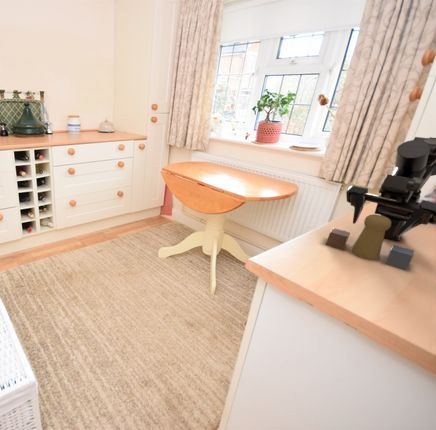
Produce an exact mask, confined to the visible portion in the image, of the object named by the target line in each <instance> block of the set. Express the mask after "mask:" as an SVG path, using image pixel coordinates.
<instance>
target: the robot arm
mask: <svg viewBox="0 0 436 430" xmlns="http://www.w3.org/2000/svg"><path fill="white" fill-rule="evenodd" d="M394 167H395V168H394V170H393V172H392V174H385V177H384V178H383V181H382V183H381V184H380V188H379V190H378V193H379V195H377V194H372V193H369V187H363V186H359V185H354V184H353V185H351V186H349V187H348V188H347V190H346V192H345V193H346V196H345V197H346V203H349V205H350V206H351V207H354V211H353V218H352V224H353V225H354V224H356V223H357V222H358V220H359V218H360V215H361V213H362V211H363V209H364V206H365V203H366V202H369V203H370V202H371V203H374V204H376V207H375V210H374V213H373V215H381V216H384V217H387V218H389V219H390V220H391V226H390V228H389V229H388V230H386V231H385V234H384V238H385V239H388V240H393V241H396V242H400V240H401V237H402V236H403V235H404V234H406V233H407V232H409V231H410V230H413V229H414V228H416V227H418V226H420V225H423V226H424V225H425V226H427V225H428V224H433V225H435V224H436V202H434V201H430V200H424V199H422V200H421V202H420V199H421V194H422V189H423V187H424V186H425V184H426V183H427V182H428V181H429V179H430V178H431V177H433V176H436V137H432V136H431V137H430V136H429V137H421V136H420V137H419V136H415V137H414V139H412V140H407V141H404V142H402V143H401V144H399V145H398V146H397V148H396V154H395V161H394Z"/></svg>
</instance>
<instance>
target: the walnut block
mask: <svg viewBox="0 0 436 430" xmlns="http://www.w3.org/2000/svg"><path fill="white" fill-rule="evenodd" d="M350 235H351V232H350V231H346V230H342V229H338V228H335V227H333V228H332V229H331V231H330V232H329V234H328V237H327V239H326V243H325V245H327V246H328V247H329V246H330V247H331V248H336V249H338V250H344V248H345V247H346V246H347V243H348V240H349V238H350Z"/></svg>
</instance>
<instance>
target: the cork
mask: <svg viewBox="0 0 436 430" xmlns="http://www.w3.org/2000/svg"><path fill="white" fill-rule="evenodd" d="M390 226H391V220H390V219H389V218H387V217H384V216H381V215H379V214H369V215H367V216H366V217H365V218H364V227H363V228H362V230H361V232H360V233H359V235H358V237H357V238H356V240H355V242H354V243H353V245H352V247H351V248H350V252H351V253H352V254H354V255H355V256H357V257H360V258H362V259H366V260H371V261H373V260H375V261H377V260H378V259H380V254H381V251H382V246H383V242H384V234H385V231H386V230H388V229H389V228H390Z"/></svg>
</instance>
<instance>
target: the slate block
mask: <svg viewBox="0 0 436 430" xmlns="http://www.w3.org/2000/svg"><path fill="white" fill-rule="evenodd" d="M414 254H415V250H413V249H410V248H406V247H403V246H399V245H396V244H392V246H391V248H390V250H389V252H388V255H387V257H386V260H385V261H384V263H385V264H386V265H389V266H392V267H395V268H399V269H402V270H405V271H406V270H407V269H408V268H409V265H410V263H411V261H412V259H413V258H414Z"/></svg>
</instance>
